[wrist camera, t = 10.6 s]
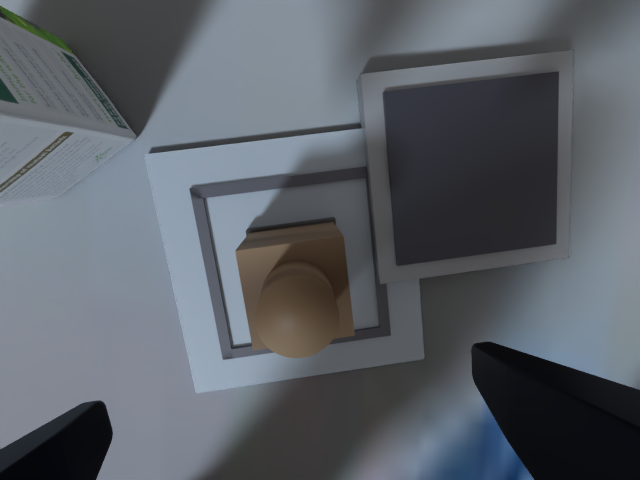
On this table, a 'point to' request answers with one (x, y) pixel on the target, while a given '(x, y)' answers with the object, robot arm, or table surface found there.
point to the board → (263, 210)
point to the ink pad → (468, 164)
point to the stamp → (295, 286)
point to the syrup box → (49, 115)
